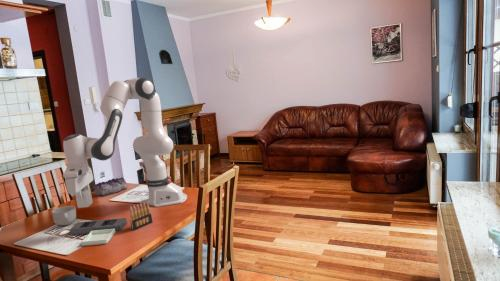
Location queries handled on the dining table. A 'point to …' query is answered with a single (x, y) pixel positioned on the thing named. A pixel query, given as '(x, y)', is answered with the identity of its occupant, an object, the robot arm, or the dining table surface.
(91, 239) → the tray
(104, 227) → the rail
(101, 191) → the geode
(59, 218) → the teacup
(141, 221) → the ammunition clip
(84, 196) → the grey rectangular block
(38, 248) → the dining table surface
